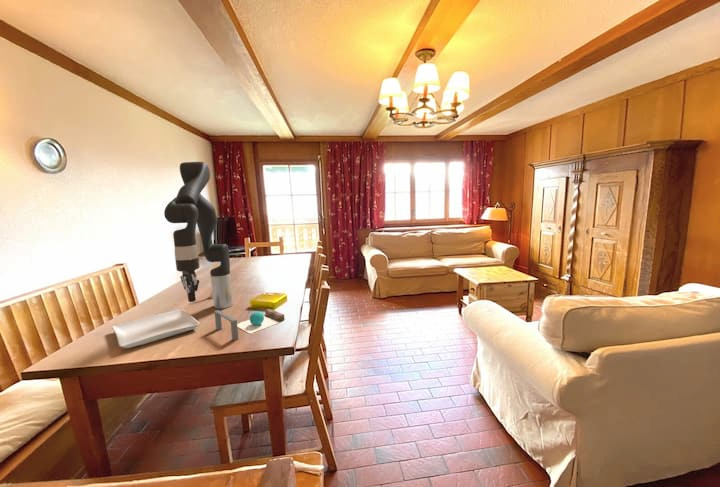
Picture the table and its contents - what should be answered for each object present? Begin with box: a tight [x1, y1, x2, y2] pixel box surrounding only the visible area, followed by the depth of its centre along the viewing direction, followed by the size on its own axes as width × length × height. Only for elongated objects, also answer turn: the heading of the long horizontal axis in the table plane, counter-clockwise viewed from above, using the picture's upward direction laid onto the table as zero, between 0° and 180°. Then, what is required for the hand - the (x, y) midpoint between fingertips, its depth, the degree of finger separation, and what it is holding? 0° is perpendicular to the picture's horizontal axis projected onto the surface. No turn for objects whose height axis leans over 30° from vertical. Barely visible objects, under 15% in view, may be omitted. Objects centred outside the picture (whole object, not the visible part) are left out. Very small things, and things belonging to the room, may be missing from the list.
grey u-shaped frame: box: [214, 309, 239, 341], centre depth 120 cm, size 17×2×8 cm, turn 49°
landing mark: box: [237, 315, 280, 335], centre depth 130 cm, size 14×14×1 cm
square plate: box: [111, 308, 201, 349], centre depth 125 cm, size 27×27×4 cm
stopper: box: [264, 309, 285, 322], centre depth 137 cm, size 13×2×2 cm, turn 49°
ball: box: [249, 311, 265, 325], centre depth 129 cm, size 6×6×6 cm
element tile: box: [249, 291, 288, 311], centre depth 155 cm, size 15×15×5 cm
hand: (192, 301), depth 112 cm, fingers closed
